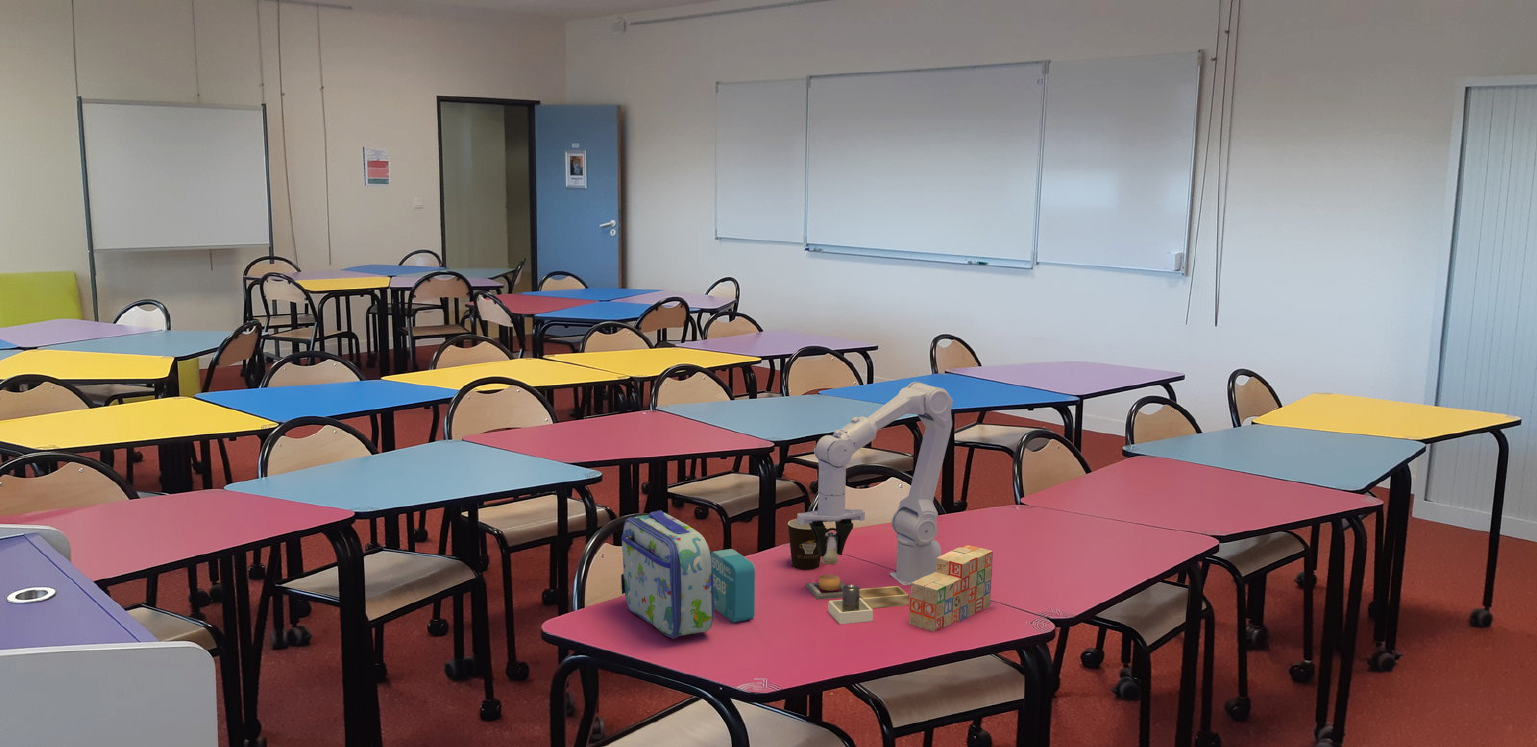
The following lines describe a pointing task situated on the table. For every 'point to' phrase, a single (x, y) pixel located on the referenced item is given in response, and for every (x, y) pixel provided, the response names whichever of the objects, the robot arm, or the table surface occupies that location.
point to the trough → (884, 597)
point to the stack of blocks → (952, 589)
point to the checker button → (829, 582)
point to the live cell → (831, 549)
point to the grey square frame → (818, 595)
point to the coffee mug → (803, 546)
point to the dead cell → (850, 598)
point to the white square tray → (850, 612)
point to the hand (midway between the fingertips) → (830, 554)
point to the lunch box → (667, 574)
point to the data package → (733, 585)
